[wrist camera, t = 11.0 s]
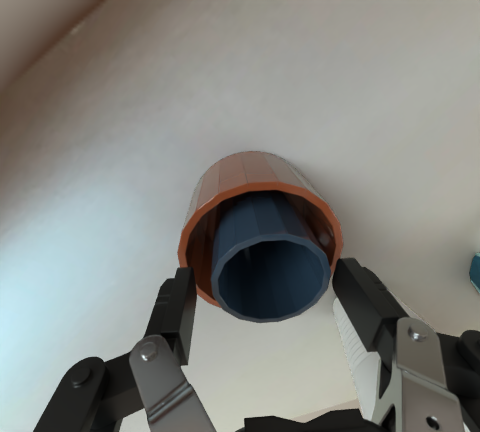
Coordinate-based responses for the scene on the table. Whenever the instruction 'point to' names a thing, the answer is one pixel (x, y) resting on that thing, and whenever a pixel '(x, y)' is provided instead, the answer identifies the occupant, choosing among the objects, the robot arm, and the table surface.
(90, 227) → the table surface
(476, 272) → the sunglasses
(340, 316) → the cup
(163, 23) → the table surface
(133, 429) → the table surface
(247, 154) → the terracotta cup
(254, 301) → the slate cup
